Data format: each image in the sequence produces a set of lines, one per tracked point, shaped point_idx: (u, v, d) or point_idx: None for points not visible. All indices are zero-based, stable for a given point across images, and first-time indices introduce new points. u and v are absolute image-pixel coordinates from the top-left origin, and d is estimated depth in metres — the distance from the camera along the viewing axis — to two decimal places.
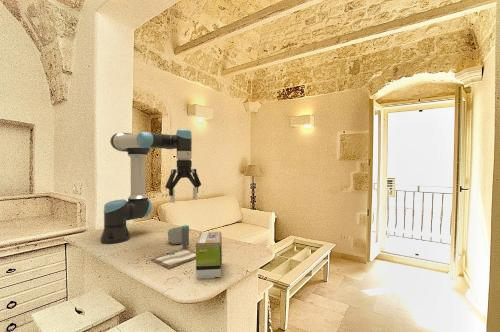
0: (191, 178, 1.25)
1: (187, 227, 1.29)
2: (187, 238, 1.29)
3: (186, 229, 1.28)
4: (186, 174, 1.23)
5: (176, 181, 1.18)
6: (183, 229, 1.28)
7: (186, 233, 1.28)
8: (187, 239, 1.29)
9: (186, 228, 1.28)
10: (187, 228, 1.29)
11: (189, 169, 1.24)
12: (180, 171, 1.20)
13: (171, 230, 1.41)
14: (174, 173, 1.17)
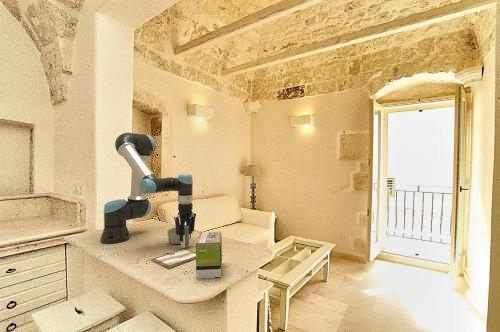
0: (188, 222, 1.29)
1: (187, 227, 1.29)
2: (187, 238, 1.29)
3: (186, 229, 1.28)
4: (187, 217, 1.29)
5: (183, 227, 1.27)
6: None
7: (186, 233, 1.28)
8: (187, 239, 1.29)
9: (186, 228, 1.28)
10: (187, 228, 1.29)
11: (191, 211, 1.31)
12: (182, 215, 1.26)
13: (171, 230, 1.41)
14: (177, 221, 1.24)
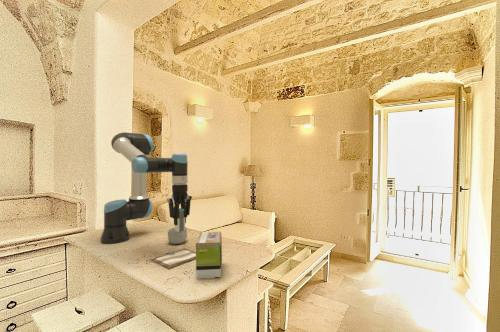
0: (183, 204, 1.21)
1: (182, 210, 1.20)
2: (182, 222, 1.20)
3: (181, 212, 1.19)
4: (182, 199, 1.20)
5: (177, 209, 1.18)
6: None
7: (181, 216, 1.19)
8: (182, 223, 1.20)
9: (181, 211, 1.19)
10: (182, 211, 1.20)
11: (186, 193, 1.22)
12: (176, 196, 1.18)
13: (171, 230, 1.41)
14: (171, 202, 1.15)
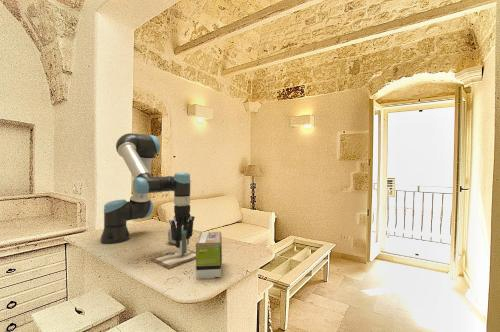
0: (186, 226, 1.16)
1: (184, 232, 1.15)
2: (184, 244, 1.15)
3: (183, 234, 1.15)
4: (184, 220, 1.15)
5: (179, 231, 1.13)
6: None
7: (183, 238, 1.15)
8: (184, 245, 1.15)
9: (183, 233, 1.15)
10: (184, 233, 1.15)
11: (188, 214, 1.17)
12: (178, 218, 1.13)
13: None
14: (173, 225, 1.11)
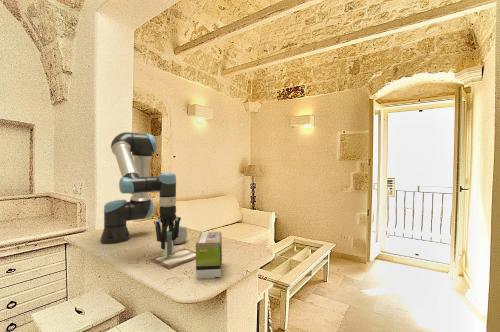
0: (171, 227, 1.14)
1: (170, 233, 1.14)
2: (170, 245, 1.14)
3: (169, 235, 1.13)
4: (170, 221, 1.14)
5: (164, 232, 1.12)
6: None
7: (169, 240, 1.13)
8: (170, 246, 1.14)
9: (169, 234, 1.13)
10: (170, 234, 1.14)
11: (174, 214, 1.16)
12: (163, 219, 1.11)
13: None
14: (158, 226, 1.09)
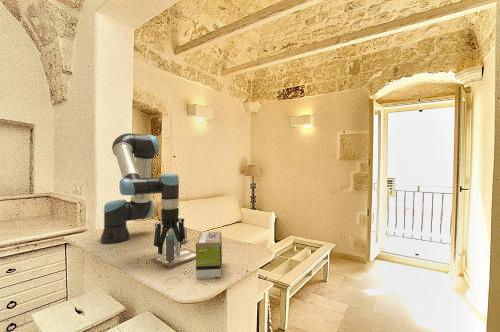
0: (176, 230, 1.09)
1: (172, 237, 1.08)
2: (172, 250, 1.08)
3: (171, 240, 1.07)
4: (172, 224, 1.08)
5: (164, 236, 1.05)
6: (167, 240, 1.07)
7: (171, 245, 1.07)
8: (172, 252, 1.08)
9: (171, 239, 1.07)
10: (172, 239, 1.08)
11: (176, 218, 1.10)
12: (165, 222, 1.05)
13: (171, 230, 1.41)
14: (158, 228, 1.03)
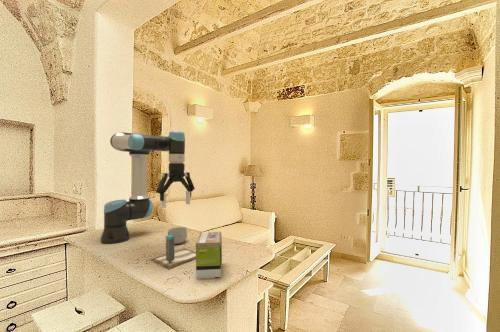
0: (184, 182, 1.20)
1: (172, 237, 1.08)
2: (172, 251, 1.08)
3: (171, 240, 1.07)
4: (178, 178, 1.17)
5: (167, 185, 1.13)
6: (167, 240, 1.07)
7: (171, 245, 1.07)
8: (172, 252, 1.08)
9: (171, 239, 1.07)
10: (172, 239, 1.08)
11: (182, 173, 1.19)
12: (172, 175, 1.15)
13: (171, 230, 1.41)
14: (165, 177, 1.12)
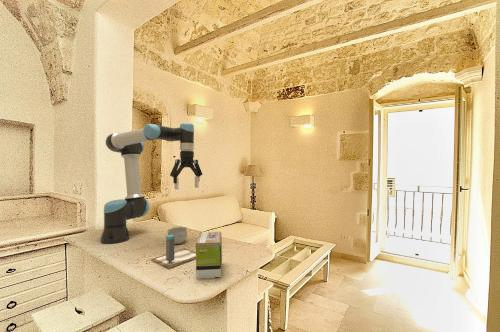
0: (193, 168, 1.37)
1: (172, 237, 1.08)
2: (172, 250, 1.08)
3: (171, 240, 1.07)
4: (189, 164, 1.34)
5: (180, 170, 1.30)
6: (167, 240, 1.07)
7: (171, 245, 1.07)
8: (172, 252, 1.08)
9: (171, 239, 1.07)
10: (172, 239, 1.08)
11: (191, 160, 1.36)
12: (183, 161, 1.32)
13: (171, 230, 1.41)
14: (177, 162, 1.29)
